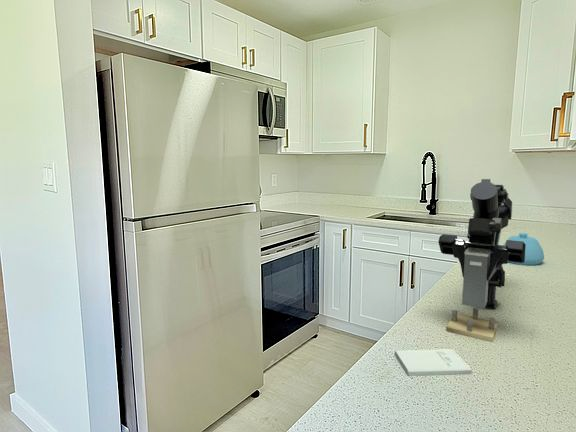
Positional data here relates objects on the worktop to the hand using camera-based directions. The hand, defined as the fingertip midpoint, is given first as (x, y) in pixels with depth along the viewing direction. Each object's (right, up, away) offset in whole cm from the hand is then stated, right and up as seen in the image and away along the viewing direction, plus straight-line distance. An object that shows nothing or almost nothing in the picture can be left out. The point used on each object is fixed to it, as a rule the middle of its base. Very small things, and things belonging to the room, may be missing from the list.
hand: (475, 277), depth 88 cm
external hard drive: (-15, -16, -12) cm, 25 cm away
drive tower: (+1, -6, +2) cm, 7 cm away
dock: (+1, -13, +3) cm, 13 cm away
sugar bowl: (+51, -4, +63) cm, 81 cm away
